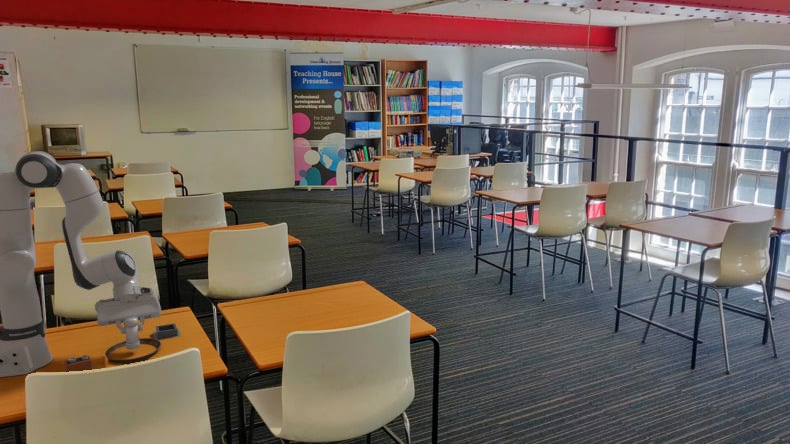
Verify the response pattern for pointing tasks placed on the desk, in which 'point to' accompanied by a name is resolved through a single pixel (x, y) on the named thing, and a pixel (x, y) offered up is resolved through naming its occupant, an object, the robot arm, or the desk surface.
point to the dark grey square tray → (166, 332)
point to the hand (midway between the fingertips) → (131, 331)
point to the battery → (79, 364)
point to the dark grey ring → (122, 344)
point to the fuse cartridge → (131, 333)
